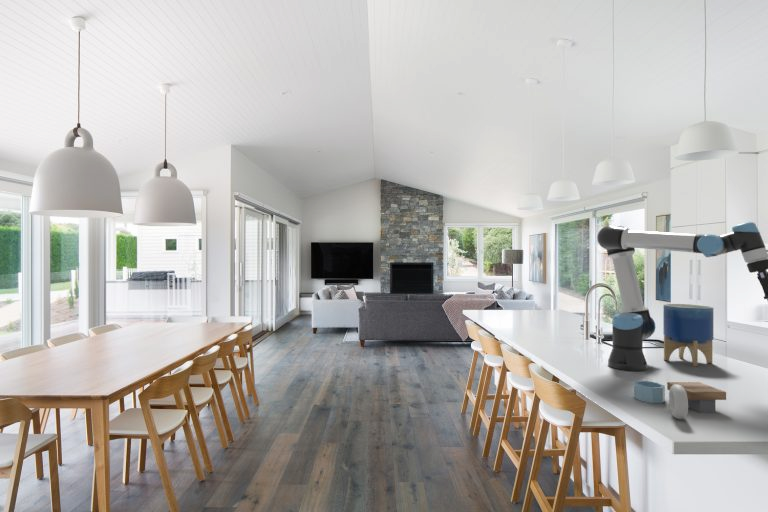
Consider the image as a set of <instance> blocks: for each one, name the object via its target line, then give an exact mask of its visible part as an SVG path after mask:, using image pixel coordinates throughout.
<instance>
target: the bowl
mask: <svg viewBox="0 0 768 512" xmlns="http://www.w3.org/2000/svg"><path fill="white" fill-rule="evenodd" d="M633 397H634V399H636V400H639V401H641V402H645V403H650V404H663V403H664V402H665V401H666V386H665V385H664V384H662V383H660V382H656V381H651V380H636V381H634V382H633Z"/></svg>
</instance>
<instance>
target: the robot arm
mask: <svg viewBox="0 0 768 512" xmlns="http://www.w3.org/2000/svg"><path fill="white" fill-rule="evenodd" d="M731 229H732V230H731V232H728V233H726V234H721V235H716V234H697V233H684V232H683V233H682V232H666V231H665V232H664V231H648V230H647V231H646V230H633V229H632V230H631V229H630V228H629V227H626V226H621V225H619V226H618V225H613V224H612V225H611V224H609V225H605V226H603V227H602V228H601V229H600V230H599V232H598V234H597V237H596V239H597V243H598V245H600V247H601V248H603V249H604V250H606V253H607V257H609V258H610V259H611V260H612V264H613V268H614V272H615V277H616V280H617V286H618V291H619V295H620V299H621V304H622V305H621V306H622V309H621V311H620V313H616V314H614V315H613V317H612V322H611V325H612V349H611V352H610V355H609V358H608V360H607V362H608V363H607V365H608V366H609V367H610V368H614V369H617V370H623V371H628V372H630V371H631V372H644V371H645V372H646V371H647V370H648V362H647V359H646V357H645V353H644V351H643V350H644V349H643V343H644V342H643V341H644V340H646V339H649V338H650V337H651V336H652V335H653V334H654V333H655V332H656V331H655V330H656V323H655V321H654V319H653V317H651V313H650V310H649V308H647V307H646V306H645V305H644V300H643V296H642V292H641V287H640V284H639V280H638V274H637V270H636V266H635V261H634V258H633V257H634V256H633V255H634V254H635V253H636V249H644V250H645V249H646V250H657V251H658V250H659V251H669V252H670V251H671V252H681V253H682V252H683V253H694V254H703V256H705V258H711V257H712V258H713V257H718V256H721V255H724V254H728V253H732V252H736V251H739V250H740V251H741V255H742V258H743V259H744V262H745V263H746V267H747V270H748V272H749V273H757V277H756V279H758V282H759V283H760V285H761V288H762V291H763V294H764V296H763V299H764V300H767V302H768V271H767V270H768V249H767V248H766V245H765V242H764V240H763V237H762V235H761V231H759V229H758V227H757V225H756V223H755V222H753V221H748V222H744V223H741V224H737V225H734V226H732V227H731ZM635 248H636V249H635Z"/></svg>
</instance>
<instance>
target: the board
mask: <svg viewBox="0 0 768 512" xmlns="http://www.w3.org/2000/svg"><path fill="white" fill-rule="evenodd" d="M666 382H667V383H666V386H667V389H666V390H668V391H670V388H671V386H673V385H675V384H678V385H681V386H682V387H683V388H684V389H685V391H686V394H687V398H688V399H691V400H715V401H726V400H727V391H724V390H721V389H719V388H716V387H715V386H710V385H708V384H705V383H703V382H700V381H686V382H685V381H679V382H678V381H666Z"/></svg>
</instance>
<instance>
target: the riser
mask: <svg viewBox="0 0 768 512" xmlns="http://www.w3.org/2000/svg"><path fill="white" fill-rule="evenodd" d="M688 408H690V409H691V410H694V411H696V412H698V413H716V409H717V408H716V400H691V399H688Z"/></svg>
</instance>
